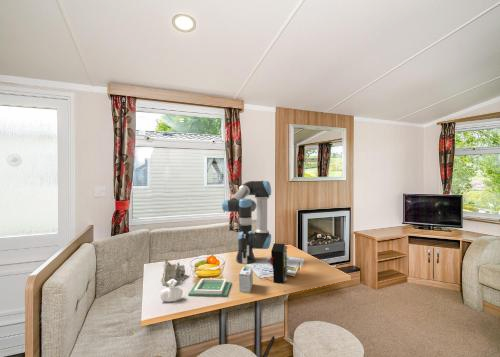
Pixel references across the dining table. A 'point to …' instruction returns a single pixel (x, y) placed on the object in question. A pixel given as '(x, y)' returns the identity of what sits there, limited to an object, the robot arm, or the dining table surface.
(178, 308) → the dining table surface
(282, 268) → the electrical component
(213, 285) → the board
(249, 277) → the light bulb box
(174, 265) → the ceramic cottage
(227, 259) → the dining table surface
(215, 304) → the dining table surface
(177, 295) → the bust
